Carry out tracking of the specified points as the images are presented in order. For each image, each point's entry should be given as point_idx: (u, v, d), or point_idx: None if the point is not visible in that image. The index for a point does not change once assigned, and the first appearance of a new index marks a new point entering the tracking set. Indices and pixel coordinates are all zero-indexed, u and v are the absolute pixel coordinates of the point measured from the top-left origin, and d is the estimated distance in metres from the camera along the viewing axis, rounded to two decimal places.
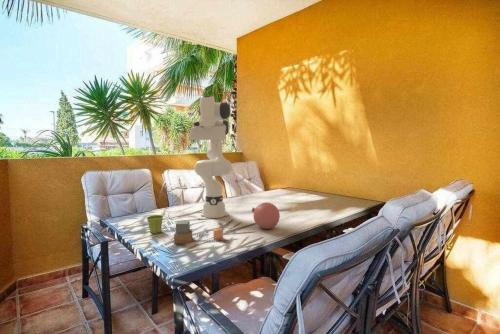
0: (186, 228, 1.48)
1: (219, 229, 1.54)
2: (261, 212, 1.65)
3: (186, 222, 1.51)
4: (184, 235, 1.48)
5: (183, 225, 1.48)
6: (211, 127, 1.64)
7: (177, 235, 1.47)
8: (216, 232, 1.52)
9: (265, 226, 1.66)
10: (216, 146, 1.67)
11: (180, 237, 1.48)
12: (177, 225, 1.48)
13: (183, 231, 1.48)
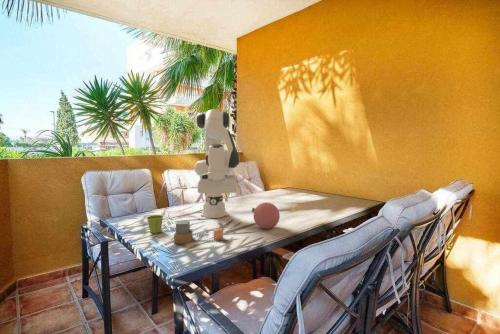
0: (186, 228, 1.48)
1: (219, 229, 1.54)
2: (261, 212, 1.65)
3: (186, 222, 1.50)
4: (184, 235, 1.48)
5: (183, 225, 1.48)
6: (221, 180, 1.50)
7: (177, 235, 1.47)
8: (216, 232, 1.52)
9: (265, 226, 1.66)
10: (226, 200, 1.52)
11: (180, 237, 1.48)
12: (177, 225, 1.48)
13: (183, 231, 1.48)
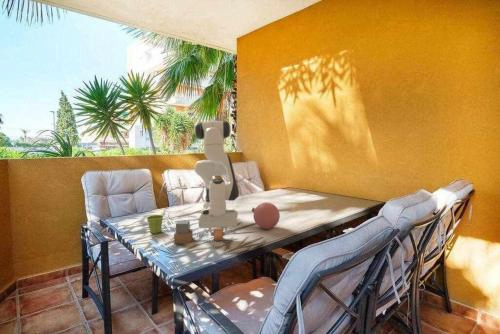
0: (186, 228, 1.48)
1: (219, 229, 1.54)
2: (261, 212, 1.65)
3: (186, 222, 1.51)
4: (184, 235, 1.48)
5: (183, 225, 1.48)
6: (221, 215, 1.51)
7: (177, 235, 1.48)
8: (216, 232, 1.52)
9: (265, 226, 1.66)
10: (224, 234, 1.54)
11: (180, 237, 1.48)
12: (177, 225, 1.48)
13: (183, 231, 1.48)
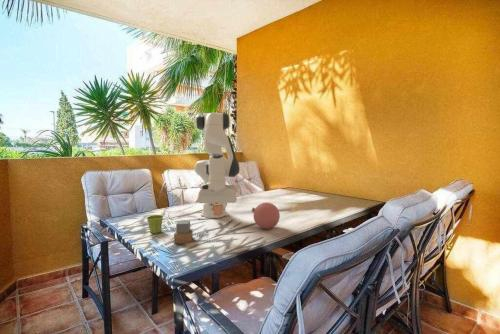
0: (186, 228, 1.48)
1: (219, 204, 1.53)
2: (261, 212, 1.65)
3: (186, 222, 1.50)
4: (184, 235, 1.48)
5: (183, 225, 1.48)
6: (221, 190, 1.50)
7: (177, 235, 1.48)
8: (216, 207, 1.51)
9: (265, 226, 1.66)
10: (223, 209, 1.53)
11: (180, 237, 1.48)
12: (177, 225, 1.48)
13: (183, 231, 1.48)
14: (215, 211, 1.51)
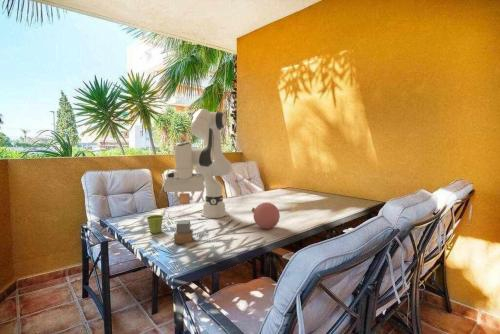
0: (187, 228, 1.48)
1: (185, 193, 1.49)
2: (261, 212, 1.65)
3: (187, 222, 1.51)
4: (184, 235, 1.48)
5: (184, 225, 1.48)
6: (187, 178, 1.47)
7: (177, 235, 1.48)
8: (182, 196, 1.47)
9: (265, 226, 1.66)
10: (190, 199, 1.49)
11: (180, 237, 1.48)
12: (178, 225, 1.48)
13: (183, 231, 1.48)
14: (181, 200, 1.48)
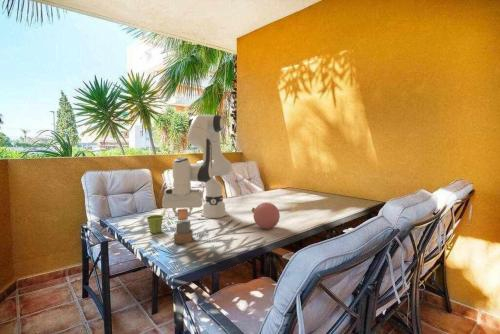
0: (187, 228, 1.48)
1: (183, 209, 1.50)
2: (261, 212, 1.65)
3: (187, 222, 1.51)
4: (184, 235, 1.48)
5: (184, 225, 1.48)
6: (185, 194, 1.48)
7: (177, 235, 1.48)
8: (180, 212, 1.48)
9: (265, 226, 1.66)
10: (188, 214, 1.50)
11: (180, 237, 1.48)
12: (178, 225, 1.48)
13: (183, 231, 1.48)
14: (179, 216, 1.48)
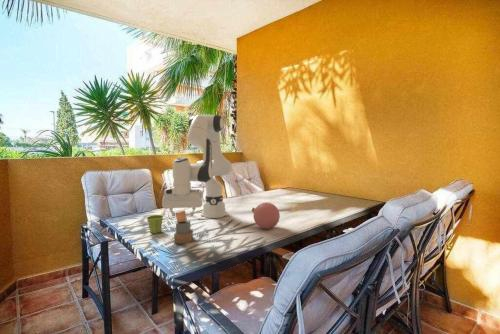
0: (186, 228, 1.48)
1: (181, 211, 1.51)
2: (261, 212, 1.65)
3: (186, 222, 1.50)
4: (184, 235, 1.48)
5: (183, 225, 1.48)
6: (185, 194, 1.48)
7: (177, 235, 1.48)
8: (177, 214, 1.49)
9: (265, 226, 1.66)
10: (191, 214, 1.50)
11: (180, 237, 1.48)
12: (177, 225, 1.48)
13: (183, 231, 1.48)
14: (177, 218, 1.49)
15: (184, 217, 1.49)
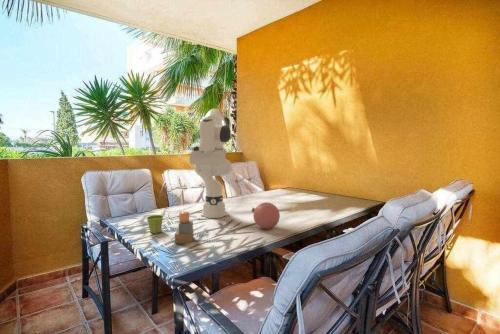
0: (189, 228, 1.48)
1: (184, 213, 1.50)
2: (261, 212, 1.65)
3: (189, 222, 1.50)
4: (185, 235, 1.48)
5: (186, 225, 1.48)
6: (211, 152, 1.61)
7: (178, 235, 1.48)
8: (179, 214, 1.50)
9: (265, 226, 1.66)
10: (216, 171, 1.64)
11: (180, 237, 1.48)
12: (180, 225, 1.48)
13: (185, 231, 1.48)
14: None
15: (183, 220, 1.49)
